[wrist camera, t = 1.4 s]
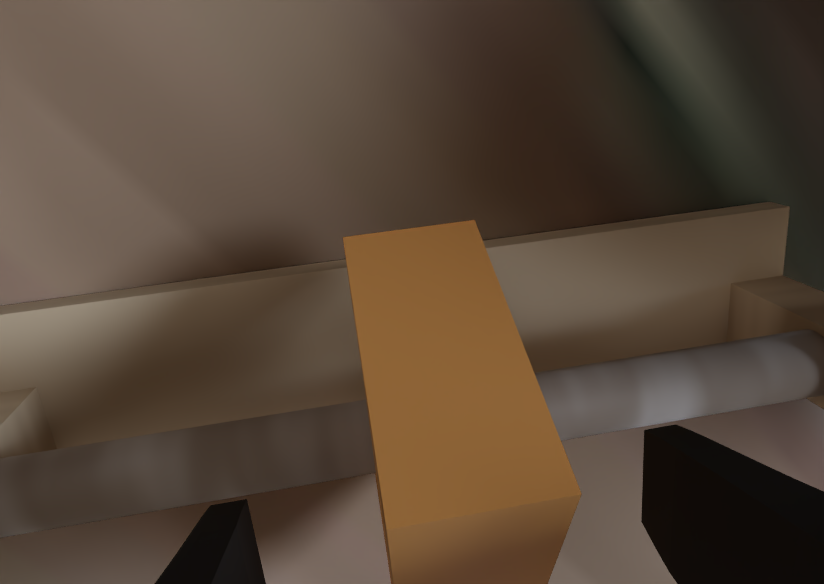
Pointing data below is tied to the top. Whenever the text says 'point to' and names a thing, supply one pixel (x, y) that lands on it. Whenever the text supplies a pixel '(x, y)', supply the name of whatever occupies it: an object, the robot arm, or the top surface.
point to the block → (455, 414)
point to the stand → (342, 373)
